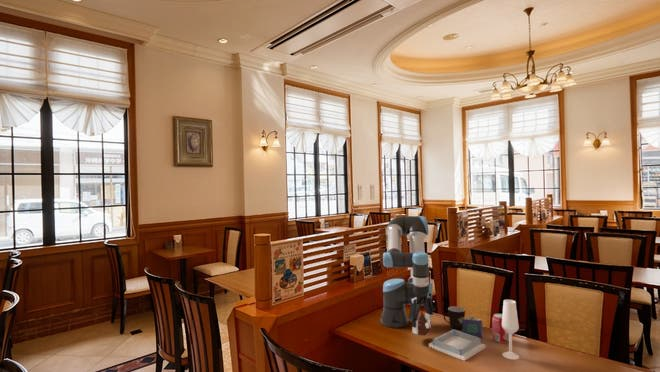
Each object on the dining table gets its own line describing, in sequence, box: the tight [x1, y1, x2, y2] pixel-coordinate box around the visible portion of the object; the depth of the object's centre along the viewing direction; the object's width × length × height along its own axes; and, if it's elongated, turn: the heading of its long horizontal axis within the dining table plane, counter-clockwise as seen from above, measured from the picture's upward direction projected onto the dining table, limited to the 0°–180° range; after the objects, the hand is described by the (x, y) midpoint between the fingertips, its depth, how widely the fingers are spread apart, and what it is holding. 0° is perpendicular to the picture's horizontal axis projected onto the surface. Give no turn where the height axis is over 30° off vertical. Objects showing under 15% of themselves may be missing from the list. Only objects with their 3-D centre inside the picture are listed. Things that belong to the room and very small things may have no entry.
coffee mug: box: [443, 306, 466, 331], centre depth 188 cm, size 12×9×10 cm
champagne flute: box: [501, 299, 520, 360], centre depth 157 cm, size 7×7×24 cm
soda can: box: [491, 313, 509, 344], centre depth 172 cm, size 7×7×12 cm
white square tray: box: [428, 329, 486, 362], centre depth 166 cm, size 18×18×4 cm
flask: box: [462, 314, 484, 339], centre depth 177 cm, size 9×3×11 cm, turn 74°
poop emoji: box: [416, 311, 432, 336], centre depth 174 cm, size 10×8×9 cm
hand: (421, 330), depth 174 cm, fingers closed on poop emoji, 10 cm apart
